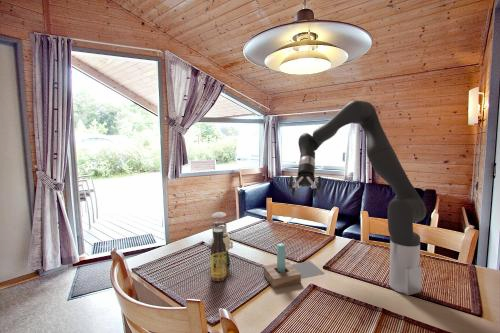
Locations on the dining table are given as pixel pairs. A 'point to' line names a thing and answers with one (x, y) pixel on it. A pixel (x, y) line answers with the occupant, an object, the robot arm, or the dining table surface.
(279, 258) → the peg
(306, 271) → the mat
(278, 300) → the dining table surface
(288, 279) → the socket block
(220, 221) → the french press
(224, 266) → the sauce bottle
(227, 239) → the character mug
